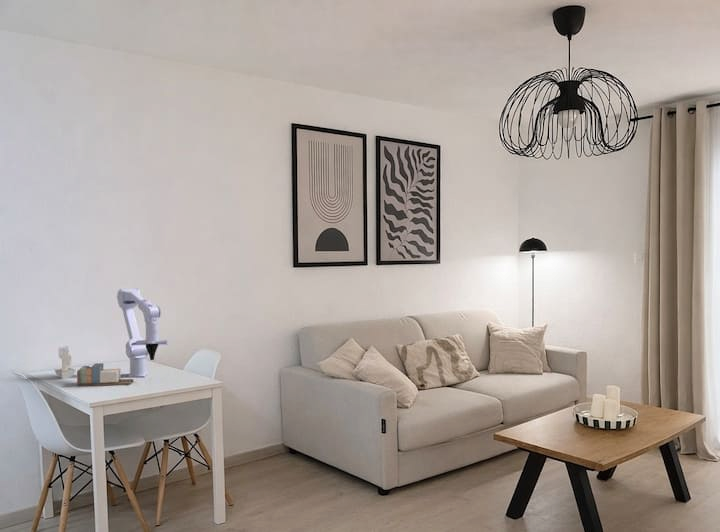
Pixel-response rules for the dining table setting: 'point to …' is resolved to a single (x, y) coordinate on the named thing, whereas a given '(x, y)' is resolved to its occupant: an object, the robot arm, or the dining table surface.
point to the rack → (86, 378)
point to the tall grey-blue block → (96, 372)
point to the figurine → (65, 364)
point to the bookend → (110, 375)
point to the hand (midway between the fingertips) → (152, 359)
